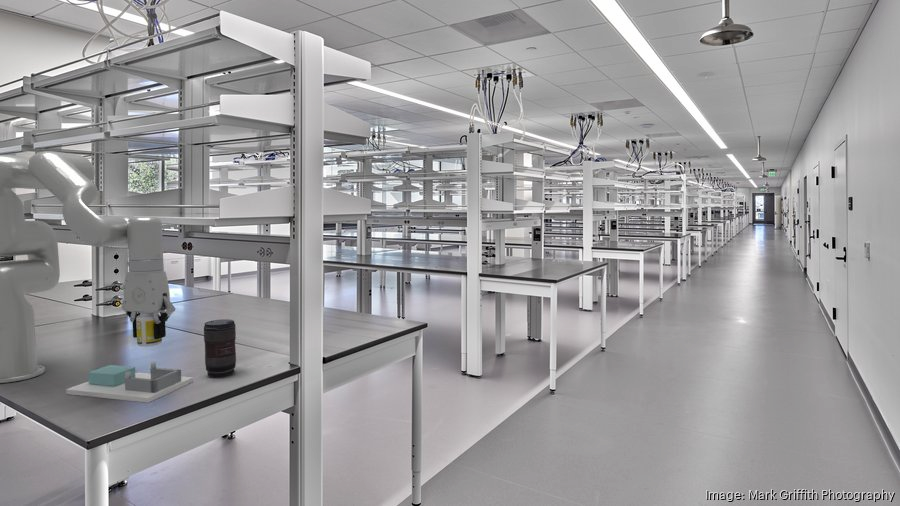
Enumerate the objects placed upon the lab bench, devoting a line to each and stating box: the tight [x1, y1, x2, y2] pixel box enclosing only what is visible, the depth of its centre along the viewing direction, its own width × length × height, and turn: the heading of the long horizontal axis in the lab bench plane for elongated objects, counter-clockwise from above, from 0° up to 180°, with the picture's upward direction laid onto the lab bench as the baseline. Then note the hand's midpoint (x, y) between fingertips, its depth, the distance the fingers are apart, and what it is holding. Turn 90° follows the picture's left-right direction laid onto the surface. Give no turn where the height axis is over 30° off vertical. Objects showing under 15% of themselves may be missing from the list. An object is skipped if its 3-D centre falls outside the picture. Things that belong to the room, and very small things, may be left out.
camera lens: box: [203, 318, 237, 379], centre depth 140 cm, size 8×8×15 cm
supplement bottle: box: [136, 312, 163, 348], centre depth 127 cm, size 5×5×10 cm
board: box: [65, 361, 194, 404], centre depth 129 cm, size 24×15×6 cm, turn 78°
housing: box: [87, 364, 136, 386], centre depth 131 cm, size 8×6×3 cm
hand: (149, 336), depth 127 cm, fingers closed on supplement bottle, 5 cm apart
